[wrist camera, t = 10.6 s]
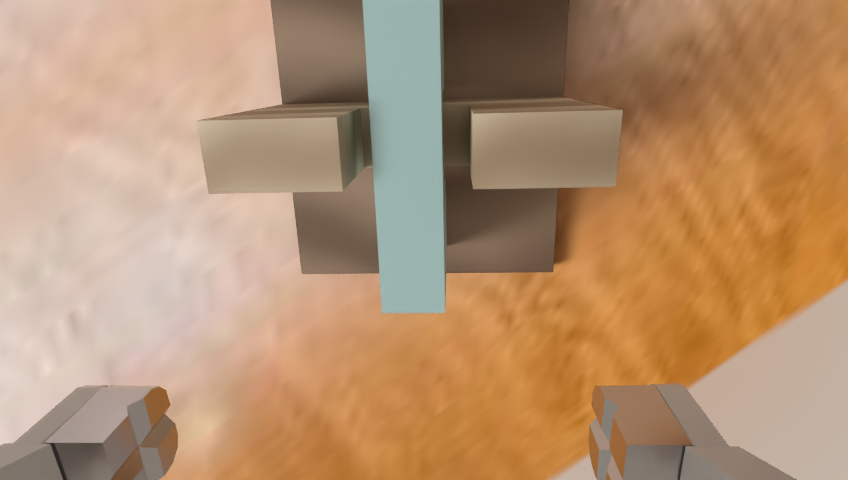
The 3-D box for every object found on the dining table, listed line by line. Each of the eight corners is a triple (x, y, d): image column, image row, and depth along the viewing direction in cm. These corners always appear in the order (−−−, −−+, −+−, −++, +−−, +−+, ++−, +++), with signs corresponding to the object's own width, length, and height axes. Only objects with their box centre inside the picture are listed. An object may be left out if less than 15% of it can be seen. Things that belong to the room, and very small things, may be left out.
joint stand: (272, -42, 24) (156, -116, 15) (567, -55, 23) (646, -143, 14) (306, 267, 29) (237, 361, 20) (549, 265, 28) (599, 362, 19)
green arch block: (389, 6, 24) (360, -26, 16) (442, 4, 23) (439, -29, 16) (401, 246, 27) (382, 312, 20) (446, 246, 27) (445, 312, 20)
